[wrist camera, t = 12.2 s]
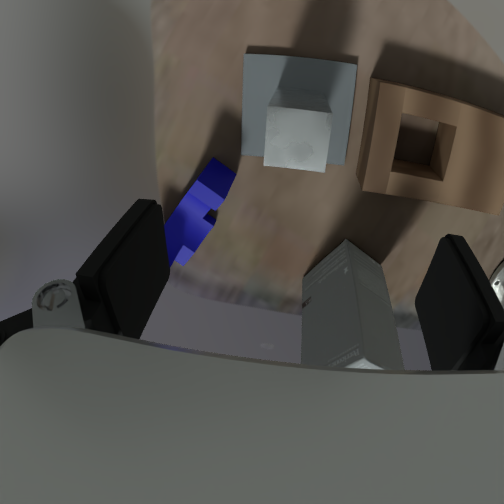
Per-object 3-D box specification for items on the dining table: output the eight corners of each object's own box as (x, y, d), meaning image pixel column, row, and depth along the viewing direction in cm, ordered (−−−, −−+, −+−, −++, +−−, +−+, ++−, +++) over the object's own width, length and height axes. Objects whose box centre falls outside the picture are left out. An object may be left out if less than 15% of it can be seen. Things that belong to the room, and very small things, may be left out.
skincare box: (345, 235, 36) (362, 351, 23) (386, 268, 37) (412, 379, 25) (298, 279, 40) (291, 392, 28) (338, 306, 42) (344, 414, 29)
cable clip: (190, 251, 40) (175, 283, 35) (160, 230, 39) (141, 260, 34) (248, 182, 34) (238, 209, 29) (213, 156, 32) (196, 179, 28)
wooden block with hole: (506, 116, 24) (526, 127, 20) (483, 197, 30) (498, 215, 26) (370, 77, 25) (380, 82, 22) (355, 173, 31) (362, 190, 28)
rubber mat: (355, 64, 25) (357, 64, 24) (342, 162, 31) (343, 165, 30) (245, 53, 26) (243, 53, 25) (242, 152, 31) (241, 154, 31)
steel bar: (322, 91, 26) (332, 113, 18) (317, 132, 28) (324, 172, 20) (277, 86, 26) (267, 106, 18) (274, 127, 29) (263, 165, 21)
